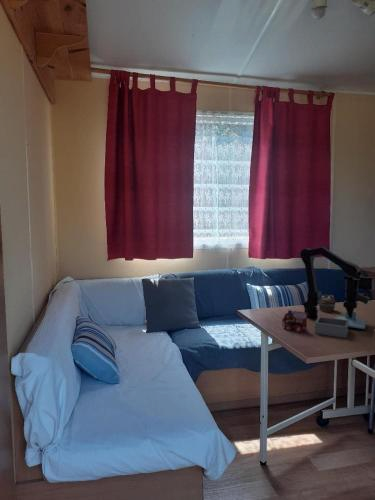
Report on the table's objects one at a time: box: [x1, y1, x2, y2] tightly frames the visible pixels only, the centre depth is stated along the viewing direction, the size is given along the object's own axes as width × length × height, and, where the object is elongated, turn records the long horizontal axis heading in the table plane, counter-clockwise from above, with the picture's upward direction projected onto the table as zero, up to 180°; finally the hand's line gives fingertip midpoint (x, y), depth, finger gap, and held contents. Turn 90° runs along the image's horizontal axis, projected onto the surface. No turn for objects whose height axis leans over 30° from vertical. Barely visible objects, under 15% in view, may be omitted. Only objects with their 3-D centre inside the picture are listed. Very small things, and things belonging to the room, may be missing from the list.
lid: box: [334, 310, 367, 330], centre depth 183 cm, size 14×12×5 cm
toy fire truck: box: [281, 309, 308, 333], centre depth 178 cm, size 7×12×10 cm, turn 56°
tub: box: [314, 316, 349, 339], centre depth 174 cm, size 14×12×6 cm
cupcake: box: [318, 293, 336, 313], centre depth 217 cm, size 10×10×10 cm
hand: (350, 317), depth 188 cm, fingers closed on lid
